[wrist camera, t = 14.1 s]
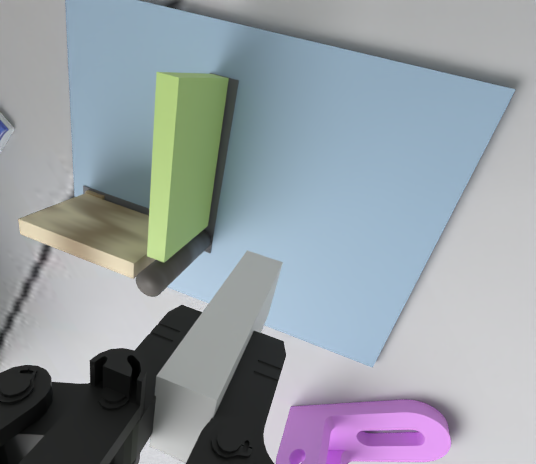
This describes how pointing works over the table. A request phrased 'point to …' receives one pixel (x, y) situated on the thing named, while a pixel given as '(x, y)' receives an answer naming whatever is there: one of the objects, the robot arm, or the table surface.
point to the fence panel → (183, 158)
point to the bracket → (364, 433)
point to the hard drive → (5, 131)
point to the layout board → (287, 158)
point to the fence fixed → (110, 239)
